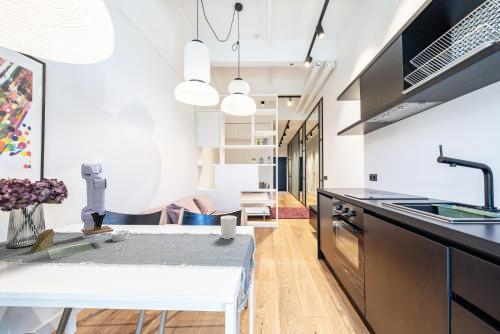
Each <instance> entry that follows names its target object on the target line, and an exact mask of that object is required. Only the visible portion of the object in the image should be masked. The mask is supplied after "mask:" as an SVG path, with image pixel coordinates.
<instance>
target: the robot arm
mask: <svg viewBox="0 0 500 334" xmlns="http://www.w3.org/2000/svg"><path fill="white" fill-rule="evenodd" d="M102 172H103V167H102V164H101V163H81V168H80V173H81V178H82V179H83V180H85V184H86V206H84V207H83V208H82V209H81V214H80V220H81V222H82V223H83V229H87V228H94V222H95V224H96V228H97V227H102V225H103V221H104V219H105V217H106V216H107V214H106V213H105V211H106V204H105V203H106V189H107V185H108V183H107V179H106V178H104V177H103V175H102ZM81 237H82V238H83V239H84V240H87V239H91V238H97V237H98V238H99V237H102V235H101V233H99V234H92V235H85V234H84V233H82V234H81Z"/></svg>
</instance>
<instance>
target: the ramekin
mask: <svg viewBox="0 0 500 334" xmlns="http://www.w3.org/2000/svg"><path fill="white" fill-rule="evenodd" d="M129 233H130V230H129V229H128V230H127V229H120V230H115V231H112V232H110V235H111V240H112V242H122V241H127V240H128V239H129Z"/></svg>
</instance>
